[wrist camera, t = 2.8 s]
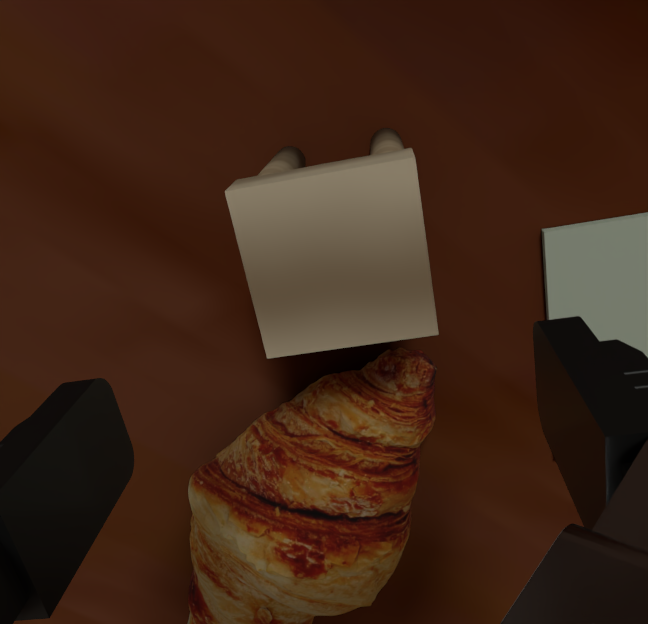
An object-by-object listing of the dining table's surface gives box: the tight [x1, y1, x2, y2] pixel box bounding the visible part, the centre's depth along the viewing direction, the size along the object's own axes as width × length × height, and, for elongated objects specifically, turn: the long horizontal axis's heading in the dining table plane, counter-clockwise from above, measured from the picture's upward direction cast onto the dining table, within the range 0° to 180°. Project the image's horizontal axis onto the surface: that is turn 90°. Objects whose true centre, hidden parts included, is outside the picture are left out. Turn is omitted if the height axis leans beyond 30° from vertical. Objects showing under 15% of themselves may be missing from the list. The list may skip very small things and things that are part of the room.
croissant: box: [188, 347, 437, 624], centre depth 29 cm, size 21×10×8 cm, turn 151°
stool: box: [225, 128, 439, 359], centre depth 21 cm, size 5×5×8 cm
